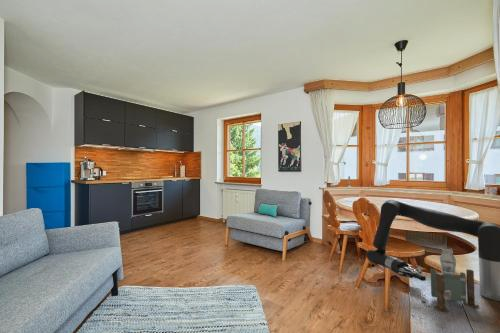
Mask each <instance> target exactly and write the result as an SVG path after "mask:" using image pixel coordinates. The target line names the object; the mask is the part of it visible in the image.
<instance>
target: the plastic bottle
mask: <svg viewBox="0 0 500 333" xmlns="http://www.w3.org/2000/svg"><path fill="white" fill-rule="evenodd" d="M453 253H454V252H453V248H451V247H447V246H445V247H442V253H441V255H440V256H439V262H440V272H441V273H444V274H453V275H457V274H456V270H457V269H456V267H457V259H456V256H455V255H454V254H453Z"/></svg>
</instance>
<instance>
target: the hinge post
mask: <svg viewBox="0 0 500 333" xmlns="http://www.w3.org/2000/svg"><path fill="white" fill-rule="evenodd" d="M465 271H466V273H465V274H466V302H463V303H462V304H463V305H464V306H466V307H469V308H471V309H476V308H480V304H478V303H476V301H475V300H476V298H475V273H474V270H473V269H466V270H465Z"/></svg>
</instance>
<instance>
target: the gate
mask: <svg viewBox="0 0 500 333" xmlns="http://www.w3.org/2000/svg"><path fill="white" fill-rule="evenodd" d="M436 273H437V272H436V270H435V269H434V268H430V294H431V297H432V298H437V291H436ZM441 273H442V272H441ZM442 274H444V273H442ZM444 278H445V290H449V291H451V299H449V301H450V300H451V301H459V302H466V301H467V276H466V273H465V272H463V271H462V272H461V271H460V272H459V274H456V275H453V274H444Z"/></svg>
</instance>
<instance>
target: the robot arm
mask: <svg viewBox="0 0 500 333" xmlns="http://www.w3.org/2000/svg"><path fill="white" fill-rule="evenodd" d="M397 216H400V217H405V218H408V219H411V220H413V221H415V222H417V223H419V224H421V225H423V226H426V227H429V228H432V229H436V230H439V231H440V230H441V231H446V232H453V233H462V234H466V235H470V236H473V237H475V238H477V243H478V244H477V246H478V249H477V250H478V273H479V274H478V275H479V278H478V279H479V294H480V295H481V296H482V297H485V298H487V299H490V300H492V301H499V302H500V225H499V224H496V223H494V222H488V221H481V220H474V219H471V218H470V219H469V218H465V217H462V216H457V215H454V214H451V213H447V212H445V211H444V212H443V211H439V210H435V209H429V208H425V207H422V206H415V205H411V204H408V203H404V202H401V201H399V200H394V199H388V200H385V202H383V203H382V205H381V206H380V213H379V221H378V226H377V229H376V232H375V235H374V239H373V241H372V245H373V247H374V248H376V249H368V250H367V251H366V252H365V254H366V255H365V257H366V259H367V260H368V261H369V262H370V263H373V264H375V265H378V266H379V265H380V266H382V267H384V268H386V269H388V270H390V271H391V272H393V273H394V274H396V275H399V276H400V277H406V278H409V279H413V278H414V279H417V280H420V281H421V282H424V281H425V282H426V280H427V278H426V275H424V274H422V270H421V268H420V267H417V268H415V267H413V266H410V265H409V264H408V263H407V261H404V260H402V259H400V258H397V257H395V256H391V255H389V254H387V252H386V250H387V249H386V248H387V244H388V242H389V238H390V232H391V226H392V224H393V222H394V221H395V219H396V217H397Z"/></svg>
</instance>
